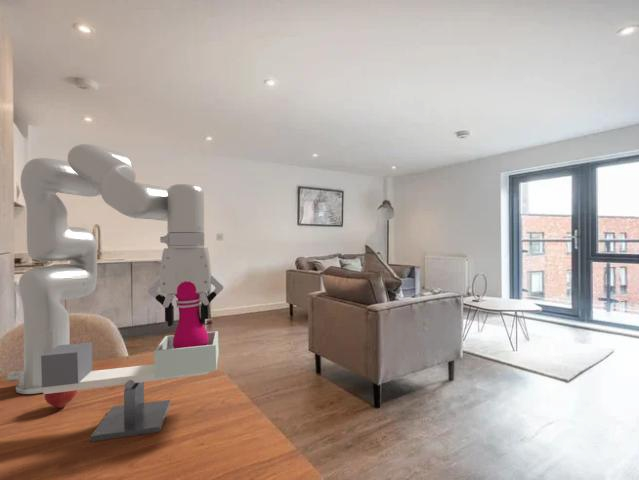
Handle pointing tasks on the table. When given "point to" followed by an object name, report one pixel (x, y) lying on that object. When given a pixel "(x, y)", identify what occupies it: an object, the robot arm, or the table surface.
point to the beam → (76, 367)
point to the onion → (60, 398)
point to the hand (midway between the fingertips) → (187, 322)
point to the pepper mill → (189, 318)
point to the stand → (132, 416)
